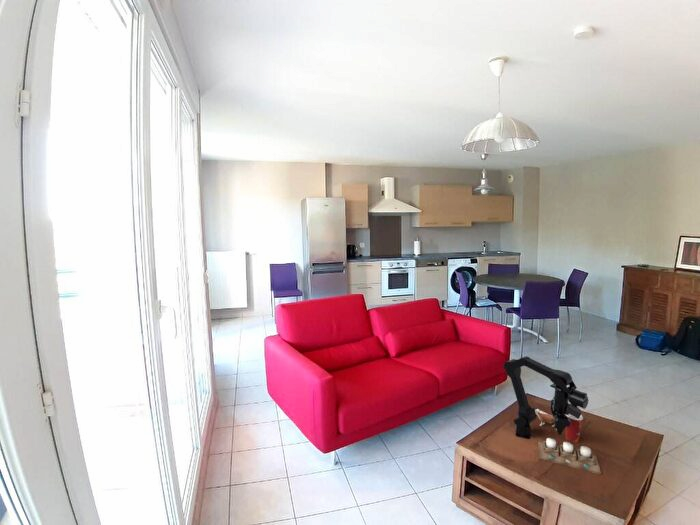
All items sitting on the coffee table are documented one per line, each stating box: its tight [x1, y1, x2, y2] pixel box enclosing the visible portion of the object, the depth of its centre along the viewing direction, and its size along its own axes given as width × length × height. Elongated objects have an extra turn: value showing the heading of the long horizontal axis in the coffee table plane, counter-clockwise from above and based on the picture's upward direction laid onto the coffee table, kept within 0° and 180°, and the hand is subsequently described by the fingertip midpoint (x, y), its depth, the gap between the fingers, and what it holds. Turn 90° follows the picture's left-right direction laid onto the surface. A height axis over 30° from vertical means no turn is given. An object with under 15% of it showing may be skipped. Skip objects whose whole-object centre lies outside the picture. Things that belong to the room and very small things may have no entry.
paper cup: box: [565, 414, 584, 443], centre depth 177 cm, size 8×8×14 cm
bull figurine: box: [535, 408, 557, 431], centre depth 188 cm, size 4×13×8 cm, turn 54°
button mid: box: [562, 441, 574, 454], centre depth 164 cm, size 4×4×4 cm
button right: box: [580, 445, 592, 458], centre depth 161 cm, size 4×4×4 cm
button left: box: [545, 437, 557, 450], centre depth 167 cm, size 4×4×4 cm
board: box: [537, 440, 602, 476], centre depth 163 cm, size 24×12×4 cm, turn 64°
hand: (557, 428), depth 166 cm, fingers open, 9 cm apart
